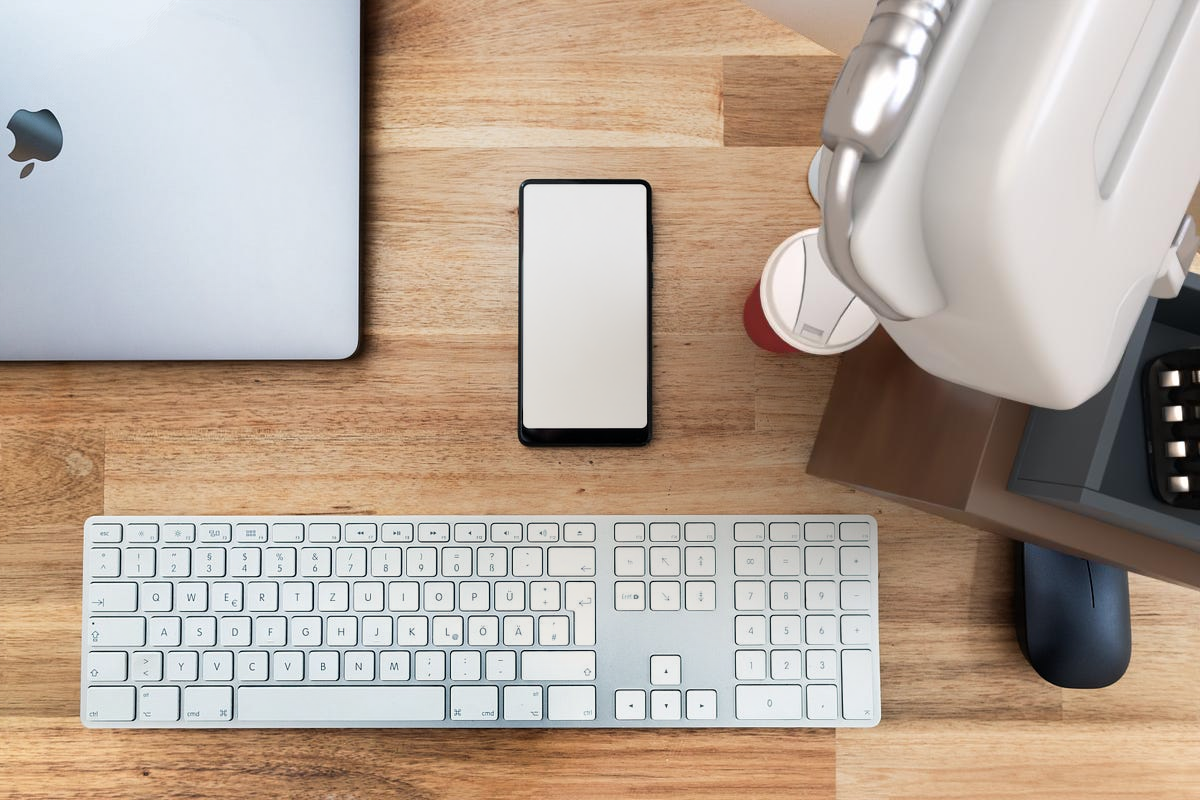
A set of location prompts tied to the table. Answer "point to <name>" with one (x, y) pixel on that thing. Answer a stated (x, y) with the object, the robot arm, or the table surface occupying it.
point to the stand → (959, 461)
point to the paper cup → (804, 303)
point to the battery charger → (1174, 426)
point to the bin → (1113, 436)
